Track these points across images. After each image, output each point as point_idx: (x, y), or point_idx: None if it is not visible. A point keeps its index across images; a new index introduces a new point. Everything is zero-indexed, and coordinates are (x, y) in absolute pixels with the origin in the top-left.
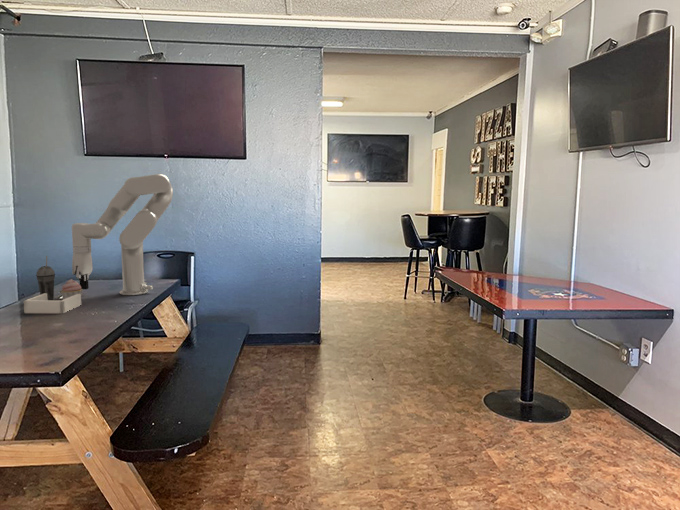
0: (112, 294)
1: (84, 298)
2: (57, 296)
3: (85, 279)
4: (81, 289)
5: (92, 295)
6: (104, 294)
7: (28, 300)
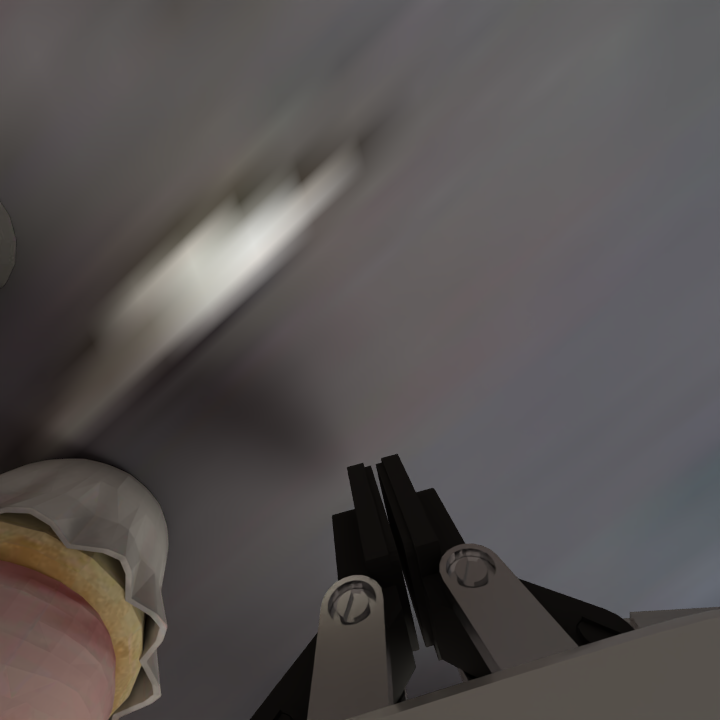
0: None
1: (242, 550)
2: (218, 155)
3: (400, 689)
4: (151, 677)
5: None
6: None
7: None
